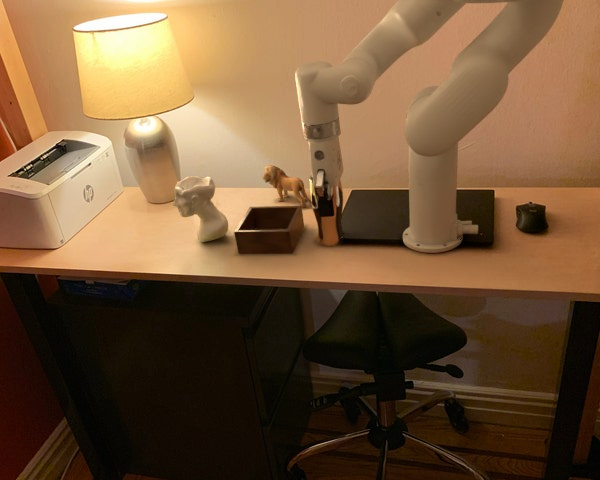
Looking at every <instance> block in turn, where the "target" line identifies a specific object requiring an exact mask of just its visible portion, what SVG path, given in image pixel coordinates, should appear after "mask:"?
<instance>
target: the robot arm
mask: <svg viewBox="0 0 600 480" xmlns="http://www.w3.org/2000/svg"><path fill="white" fill-rule="evenodd" d="M564 1H565V0H397V1H396V2H395V3H394V5H392V7H390V9H389V10H388V11H387V13H386V14H385V15H384V17H383V18H382V19H381V20H380V21H379V22H378V23H377V24H376V25H375V26H374V27H373V28H372V29H371V30H370V31H369V32H368V33H367V34H366V35H365V36H364V37H363V38H362V39H361V41H359V42H358V44H357V45H356V46H355V47H353V49H352V50H351V51H350V52H349V53H348V54H347V55H346V56H345V58H344V59H343V60H342V62H341V63H339V64H338V65H335V66H333V65H332V64H331V62H328V61H325V60H323V61H322V60H319V61H311V62H305V63H303V64H301V65H298V67H297V68H296V70H295V74H294V76H295V78H294V79H295V86H296V93H297V100H298V107H299V113H300V120H301V127H302V135H303V139H304V140H305V141H307V142H308V149H309V152H308V153H309V161H310V168H311V175H312V177H313V183H314V186H315V187H316V190H317V203H318V210H319V216H320V217H333V216H334V214H335V213H334V205H333V198H331V187H332V186H334V187H337V185H338V184H339V182H340V179H341V180H342V176H343V174H344V164H343V157H342V150H341V149H342V148H341V144H340V143H341V142H340V137H339V136H341V133H342V130H341V123H340V114H339V105H350V106H352V105H359V104H361V103H363V102H365V101H366V100H367V99H368V98H369V97H370V95H371V93H372V91H373V89H374V86H375V84H376V82H377V81H378V80H379V78H380V77H381V76H383V74H384V73H385V72H386V71H387V70H388V69H389V68H391V66H392V65H393V64H394V63H396V61H398V60H399V59H400V58H401V57H402V56H403V55H405V54H406V53H408V52H409V51H410V50H412V49H414V48H417V47H419V46H422V45H423V44H425V43H427V42H428V41H429V40H430V39H431V38H433V36H434V35H435V34H436V33H437V32H438V31H439V30H441V29H442V27H443V26H444V25H445V24H447V22H448V21H450V20H451V19H452V18H453V17H454V16H455V15H456V14H457V13H458V11H460V10H461V9H462V8H463V7H464V6H465V5H467V4H499V3H500V4H501V3H506V4H505V6H504V7H503V8H502V9H501V11H500V12H499V13H498V14H497V15H495V17H494V18H493V19H492V20H491V22H490V23H489V24H488V25H487V26H486V27H485V28H484V29H483V30H482V31H481V32H480V33H479V34H478V35H477V36H476V37H475V38H474V39H473V40H472V41H471V42H470V43H469V44H468V45H467V46H466V47H465V48H463V50H461V51H460V52H459V53H458V54H457V56H456V57H454V60H453V62H452V65H451V68H450V74H448V76H447V77H446V78H445V79H444V80H443V81H442V83H440V85H439V86H438V85H431V86H427V87H425V88H423V89H421V90H420V91H418V92H417V93H416V94H415V95H413V97H412V99H411V100H410V102H409V105H408V108H407V113H406V116H405V117H406V120H405V124H404V137H405V140H406V144H407V145H408V202H409V203H408V204H409V205H408V206H409V207H408V209H409V211H408V212H409V226H408V227H407V228H405V230H404V231H403V233H402V243H403V244H404V245H405V246H406V247H407V248H409V249H411V250H413V251H416V252H420V253H426V254H435V253H436V254H437V253H444V252H447V251H450V250H453V249H455V248H457V247H458V246H460V244H461V243H462V242H463V239H464V235H478V234H479V224H473V221H472V220H461V219H458V213H457V192H458V191H457V188H458V186H457V185H458V180H457V179H458V163H459V161H458V156H459V142H460V141H462V139H464V138H465V137H466V136H467V135H468V134H469V133H470V132H471V131H472V130H473V129H474V128H475V127H477V126H478V125H479V124H480V123H481V122H482V121H483V120H484V119H485V118H486V117H488V116H489V115H490V113H492V112H493V111H494V110H495V109H496V107H497V106H498V105H499V103H500V102H501V101H502V99H503V98H504V96H505V94H506V92H507V91H508V85H509V80H510V79H509V74H510V73H511V72H512V71H513V70H514V69H515V68H516V67H517V66H518V65H519V64H520V63H521V62H522V61H523V60H525V58H527V56H528V55H529V54H530V53H531V52H532V51H533V50H534V49H535V48H536V46H537V45H538V44H540V42H541V41H542V40H543V39H544V38H545V37H546V36H547V34H548V33H549V32H550V30H551V29H552V27H553V26H554V24H555V22H556V21H557V19H558V17H559V15H560V12H561V10H562V6H563V4H564ZM325 182H328V184H324V183H325ZM327 188H328V192H326V191H324V189H327ZM461 238H462V239H461ZM460 239H461V240H460Z"/></svg>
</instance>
